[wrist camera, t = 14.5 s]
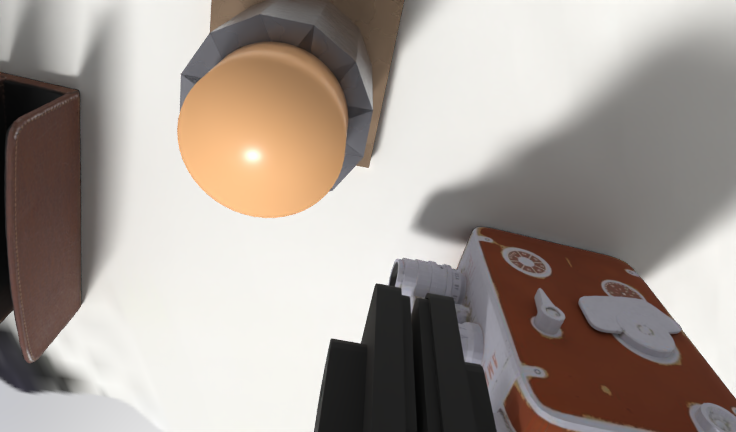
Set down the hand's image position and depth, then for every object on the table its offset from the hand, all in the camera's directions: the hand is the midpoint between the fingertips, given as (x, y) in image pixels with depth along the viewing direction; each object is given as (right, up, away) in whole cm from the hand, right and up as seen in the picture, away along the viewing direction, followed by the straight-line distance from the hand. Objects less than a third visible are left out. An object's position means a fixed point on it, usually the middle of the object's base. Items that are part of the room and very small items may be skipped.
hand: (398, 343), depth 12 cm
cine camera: (+11, -1, +34) cm, 35 cm away
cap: (-5, +9, +18) cm, 21 cm away
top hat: (-5, +13, +26) cm, 29 cm away
